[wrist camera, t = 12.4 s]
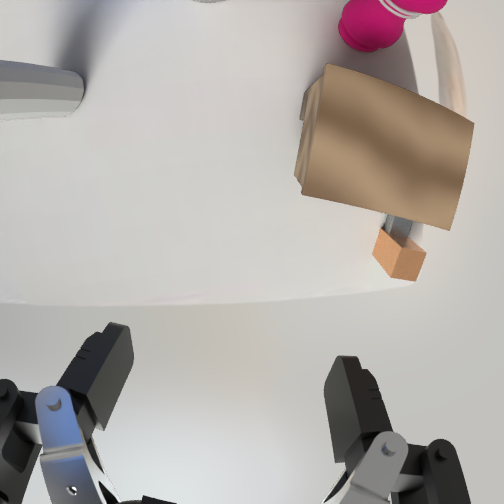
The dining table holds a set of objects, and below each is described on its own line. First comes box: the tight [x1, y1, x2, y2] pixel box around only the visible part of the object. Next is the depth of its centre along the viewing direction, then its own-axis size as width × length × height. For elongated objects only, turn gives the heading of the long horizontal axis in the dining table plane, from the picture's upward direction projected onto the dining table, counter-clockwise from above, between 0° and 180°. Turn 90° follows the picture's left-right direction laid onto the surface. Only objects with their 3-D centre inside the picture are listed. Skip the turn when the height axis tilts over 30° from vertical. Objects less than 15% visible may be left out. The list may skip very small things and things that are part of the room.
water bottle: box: [0, 60, 84, 121], centre depth 19 cm, size 9×8×25 cm
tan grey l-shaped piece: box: [372, 214, 426, 281], centre depth 33 cm, size 14×4×7 cm, turn 171°
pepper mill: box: [338, 0, 447, 52], centre depth 17 cm, size 7×7×20 cm
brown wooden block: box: [294, 63, 474, 231], centre depth 26 cm, size 11×15×14 cm
